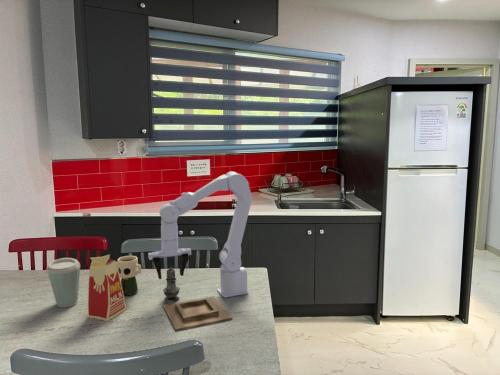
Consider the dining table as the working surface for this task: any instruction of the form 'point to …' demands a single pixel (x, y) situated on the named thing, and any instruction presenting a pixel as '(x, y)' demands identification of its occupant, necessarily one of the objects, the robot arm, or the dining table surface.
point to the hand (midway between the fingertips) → (170, 276)
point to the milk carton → (104, 289)
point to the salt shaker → (171, 287)
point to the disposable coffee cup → (64, 280)
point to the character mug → (128, 273)
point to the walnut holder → (196, 313)
